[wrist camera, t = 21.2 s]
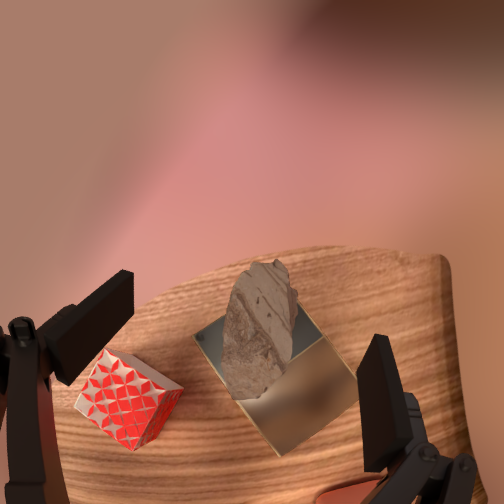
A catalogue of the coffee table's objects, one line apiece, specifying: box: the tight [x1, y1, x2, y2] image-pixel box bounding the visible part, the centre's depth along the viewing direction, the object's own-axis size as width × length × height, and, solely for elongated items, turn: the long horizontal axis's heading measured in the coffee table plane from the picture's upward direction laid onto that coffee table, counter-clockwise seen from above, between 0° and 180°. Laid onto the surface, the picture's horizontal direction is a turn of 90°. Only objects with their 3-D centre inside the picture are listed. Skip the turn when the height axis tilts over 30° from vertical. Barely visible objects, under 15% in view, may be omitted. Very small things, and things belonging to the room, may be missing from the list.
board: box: [192, 299, 359, 458], centre depth 34 cm, size 18×13×1 cm
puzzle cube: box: [74, 348, 184, 451], centre depth 29 cm, size 8×8×8 cm
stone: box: [221, 259, 298, 400], centre depth 32 cm, size 15×9×10 cm
